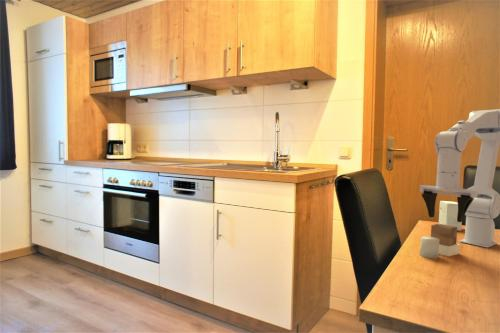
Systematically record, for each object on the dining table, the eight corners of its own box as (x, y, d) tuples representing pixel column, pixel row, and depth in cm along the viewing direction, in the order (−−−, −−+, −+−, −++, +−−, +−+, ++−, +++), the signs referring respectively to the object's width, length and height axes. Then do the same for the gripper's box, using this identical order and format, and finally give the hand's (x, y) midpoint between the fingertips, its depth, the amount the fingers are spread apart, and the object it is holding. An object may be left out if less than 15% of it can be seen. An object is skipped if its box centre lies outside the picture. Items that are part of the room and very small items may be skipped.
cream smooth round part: (424, 252, 94) (425, 235, 94) (441, 257, 90) (442, 239, 90) (416, 255, 91) (418, 237, 91) (434, 259, 88) (435, 241, 87)
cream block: (438, 249, 99) (438, 239, 99) (459, 254, 94) (459, 244, 94) (427, 251, 96) (427, 241, 96) (448, 257, 91) (448, 246, 91)
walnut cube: (438, 239, 99) (438, 223, 98) (456, 243, 95) (457, 226, 95) (430, 242, 96) (431, 225, 95) (448, 246, 92) (450, 228, 92)
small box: (461, 231, 126) (463, 204, 125) (445, 229, 127) (447, 203, 127) (453, 226, 134) (454, 201, 133) (438, 225, 135) (439, 200, 134)
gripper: (416, 171, 98) (413, 215, 98) (472, 174, 86) (468, 225, 87) (426, 170, 102) (424, 214, 103) (481, 174, 91) (477, 222, 91)
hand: (445, 219), depth 95 cm, fingers open, 7 cm apart
